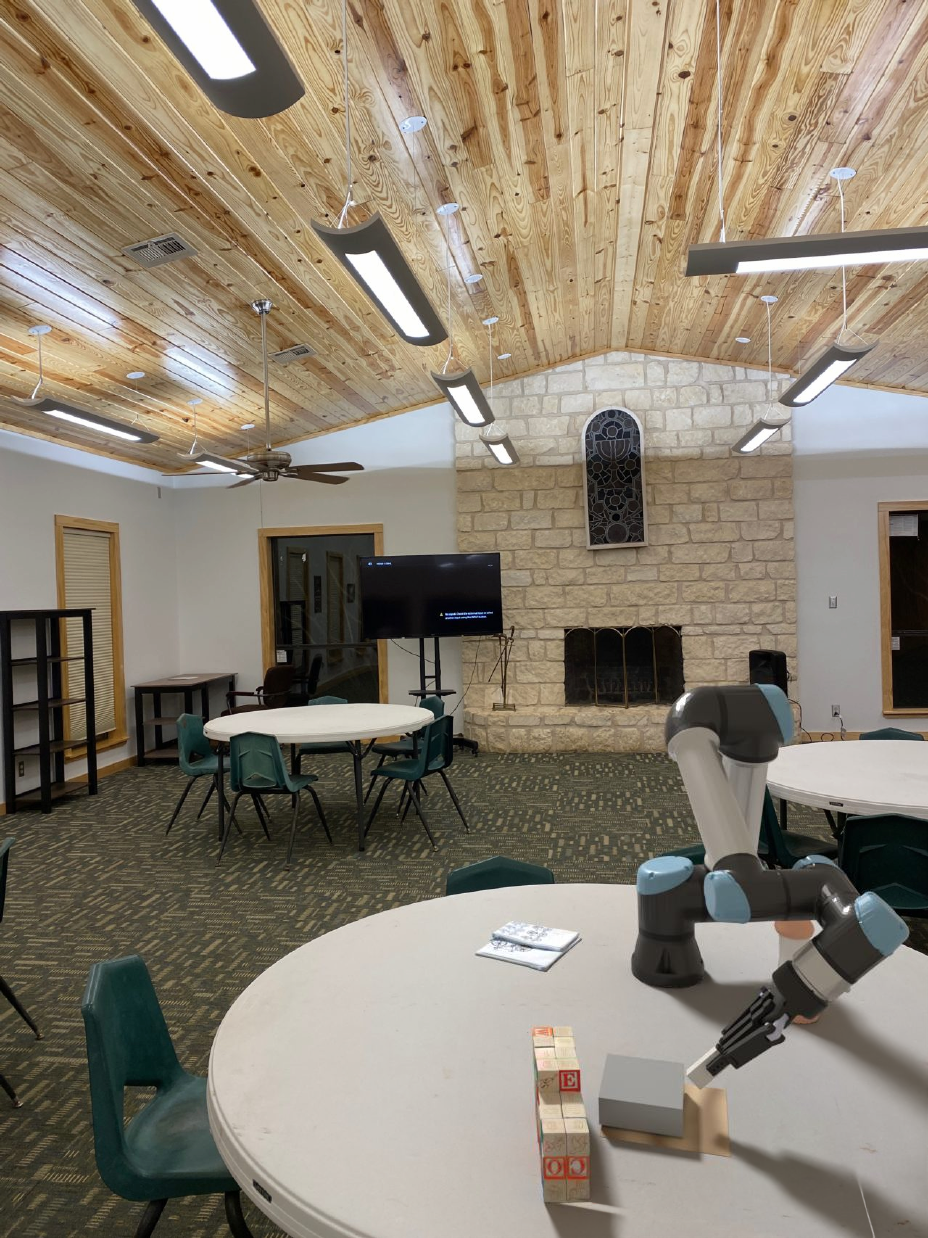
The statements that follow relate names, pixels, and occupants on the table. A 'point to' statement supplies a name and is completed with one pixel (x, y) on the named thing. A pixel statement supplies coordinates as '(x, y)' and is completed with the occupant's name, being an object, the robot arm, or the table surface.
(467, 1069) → the table surface
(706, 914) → the robot arm
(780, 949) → the salt shaker
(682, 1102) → the block
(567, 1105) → the stack of blocks
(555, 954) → the folded white cloth
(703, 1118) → the mat
